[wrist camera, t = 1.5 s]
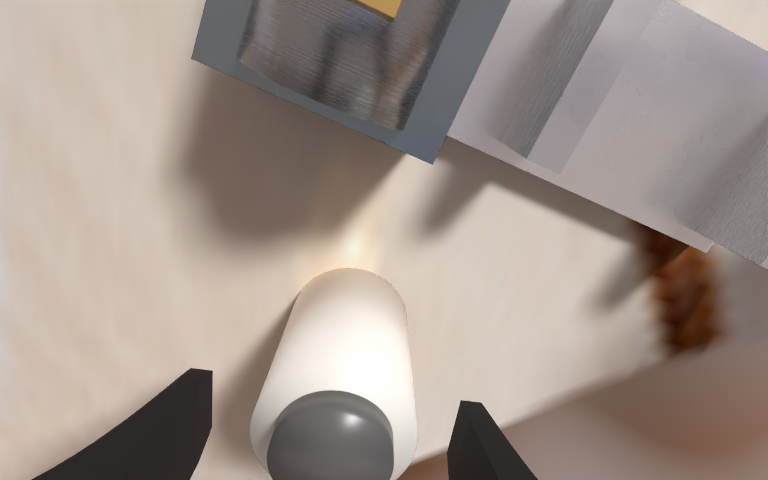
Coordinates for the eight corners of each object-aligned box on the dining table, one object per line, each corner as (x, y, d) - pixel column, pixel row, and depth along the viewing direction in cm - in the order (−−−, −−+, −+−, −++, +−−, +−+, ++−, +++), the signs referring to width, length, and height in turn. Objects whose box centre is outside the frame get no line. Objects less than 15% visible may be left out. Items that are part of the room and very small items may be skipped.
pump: (425, 293, 17) (450, 427, 11) (379, 381, 19) (377, 544, 12) (316, 250, 16) (273, 365, 10) (277, 344, 18) (219, 496, 12)
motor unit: (820, 70, 14) (1213, 73, 7) (683, 255, 16) (889, 385, 10) (326, -201, 12) (247, -561, 5) (247, 61, 14) (122, 55, 7)
